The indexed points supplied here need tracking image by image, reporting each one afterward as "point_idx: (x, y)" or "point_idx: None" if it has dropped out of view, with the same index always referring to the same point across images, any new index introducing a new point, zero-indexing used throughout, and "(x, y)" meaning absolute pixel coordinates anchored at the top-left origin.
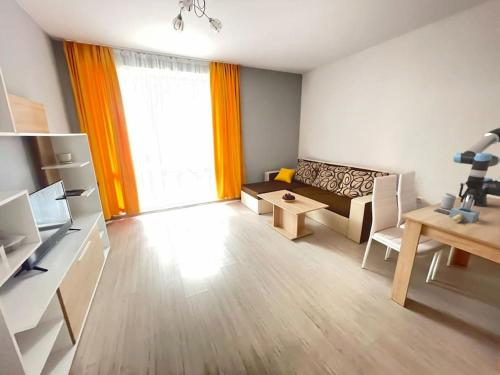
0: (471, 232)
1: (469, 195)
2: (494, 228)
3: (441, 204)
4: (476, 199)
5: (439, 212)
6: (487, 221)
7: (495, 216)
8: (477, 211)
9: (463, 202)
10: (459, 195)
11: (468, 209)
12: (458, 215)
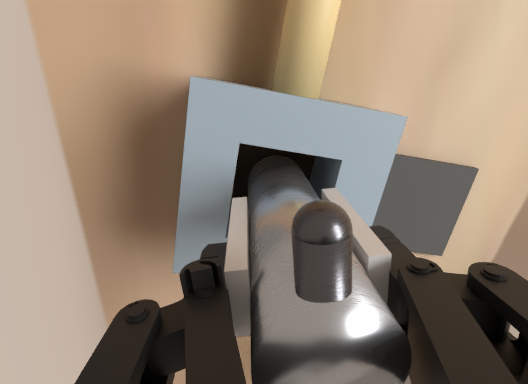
0: None
1: (353, 337)
2: (52, 84)
3: None
4: (202, 293)
5: (434, 161)
6: (131, 240)
7: None
8: (191, 260)
9: (349, 217)
10: (511, 281)
11: (260, 185)
12: None
